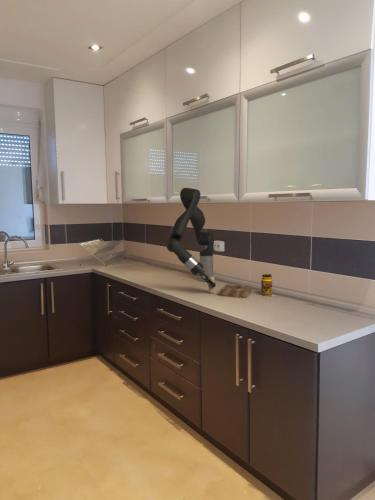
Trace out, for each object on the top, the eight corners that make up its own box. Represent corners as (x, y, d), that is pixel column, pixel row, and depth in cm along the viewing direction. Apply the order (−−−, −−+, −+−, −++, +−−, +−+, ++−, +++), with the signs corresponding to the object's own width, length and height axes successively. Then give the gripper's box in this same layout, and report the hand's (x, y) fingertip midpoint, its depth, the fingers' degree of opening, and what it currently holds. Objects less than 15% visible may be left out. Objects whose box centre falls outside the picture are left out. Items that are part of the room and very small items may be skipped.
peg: (207, 293, 228) (207, 276, 227) (209, 292, 231) (209, 275, 230) (213, 294, 227) (213, 277, 225) (215, 292, 230) (215, 276, 229)
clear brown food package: (220, 296, 222) (220, 289, 221) (226, 290, 235) (226, 284, 234) (246, 298, 216) (246, 290, 216) (251, 292, 229) (251, 285, 229)
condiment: (264, 297, 218) (264, 276, 217) (256, 294, 226) (256, 273, 225) (275, 296, 221) (276, 275, 219) (267, 292, 229) (267, 272, 227)
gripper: (198, 262, 220) (219, 283, 221) (198, 259, 234) (218, 278, 235) (188, 271, 221) (210, 292, 222) (189, 267, 235) (209, 287, 236)
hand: (214, 285), depth 228 cm, fingers closed on peg, 3 cm apart
